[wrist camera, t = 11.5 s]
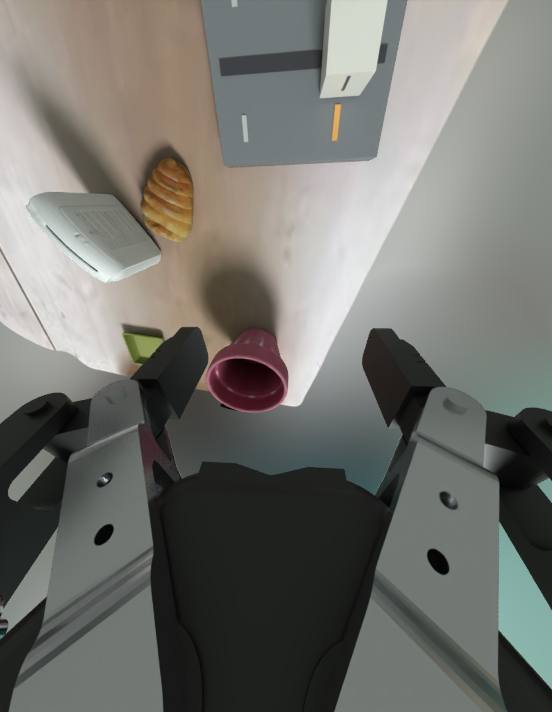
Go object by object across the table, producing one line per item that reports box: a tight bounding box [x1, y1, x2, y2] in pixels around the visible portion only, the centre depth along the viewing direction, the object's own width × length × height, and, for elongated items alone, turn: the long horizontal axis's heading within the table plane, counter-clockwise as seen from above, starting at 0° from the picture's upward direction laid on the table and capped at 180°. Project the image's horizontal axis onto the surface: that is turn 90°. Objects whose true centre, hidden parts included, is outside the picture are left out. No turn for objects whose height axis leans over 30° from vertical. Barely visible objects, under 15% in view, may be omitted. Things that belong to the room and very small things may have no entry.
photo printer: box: [26, 192, 162, 283], centre depth 28 cm, size 10×4×12 cm, turn 32°
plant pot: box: [206, 328, 288, 412], centre depth 40 cm, size 14×14×13 cm
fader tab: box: [320, 0, 388, 98], centre depth 17 cm, size 4×5×5 cm
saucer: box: [122, 333, 164, 365], centre depth 46 cm, size 9×9×2 cm
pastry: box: [141, 158, 193, 242], centre depth 28 cm, size 9×7×4 cm
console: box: [201, 0, 407, 168], centre depth 21 cm, size 18×14×3 cm
